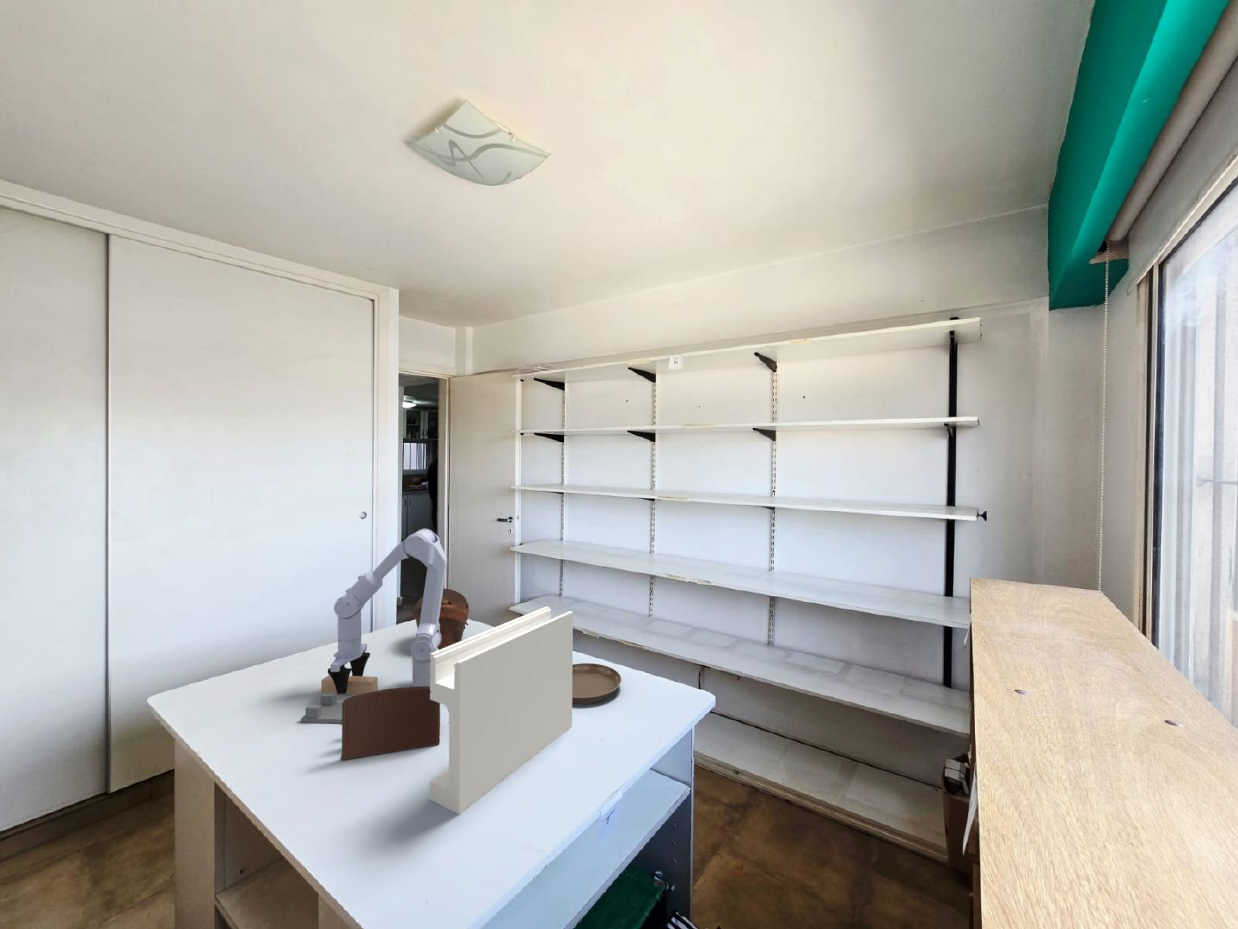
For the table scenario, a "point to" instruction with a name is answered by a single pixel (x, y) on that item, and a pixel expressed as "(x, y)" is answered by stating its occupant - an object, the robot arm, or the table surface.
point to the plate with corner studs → (324, 711)
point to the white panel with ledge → (501, 701)
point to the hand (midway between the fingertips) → (349, 686)
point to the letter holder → (389, 722)
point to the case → (448, 617)
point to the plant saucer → (593, 682)
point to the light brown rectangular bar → (352, 685)
